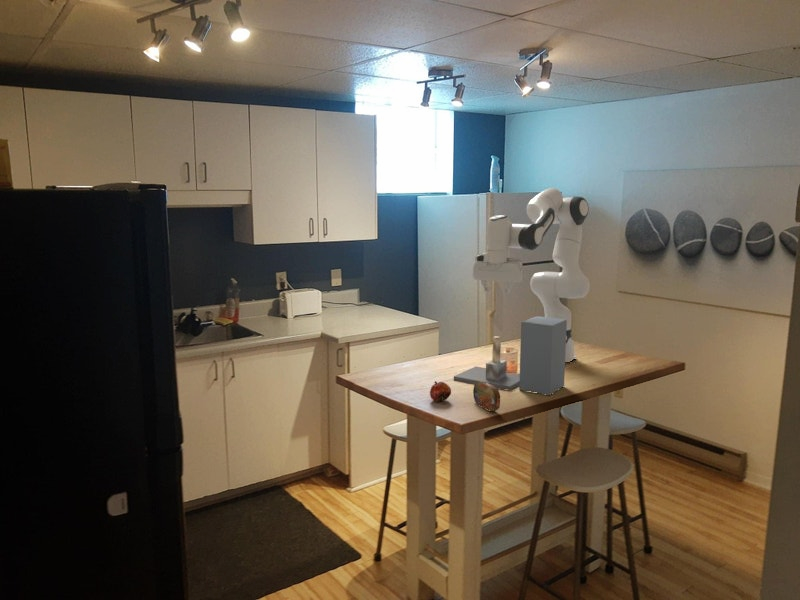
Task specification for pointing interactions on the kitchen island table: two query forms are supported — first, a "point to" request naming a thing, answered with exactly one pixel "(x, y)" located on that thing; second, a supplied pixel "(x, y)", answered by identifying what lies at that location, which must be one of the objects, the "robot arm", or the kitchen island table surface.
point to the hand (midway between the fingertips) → (497, 292)
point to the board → (480, 375)
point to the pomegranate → (440, 391)
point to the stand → (542, 354)
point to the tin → (486, 396)
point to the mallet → (496, 362)
